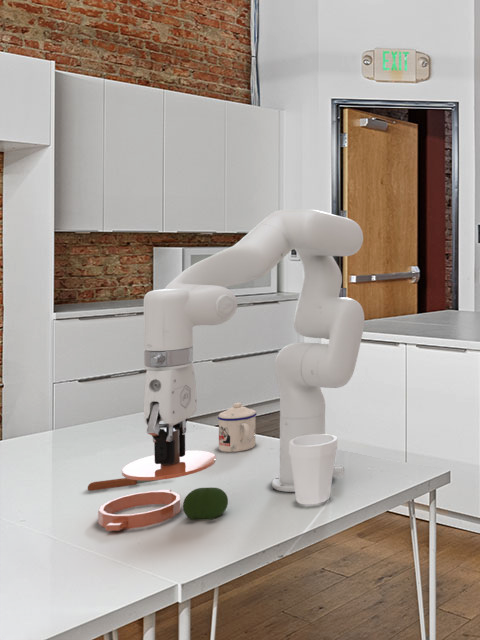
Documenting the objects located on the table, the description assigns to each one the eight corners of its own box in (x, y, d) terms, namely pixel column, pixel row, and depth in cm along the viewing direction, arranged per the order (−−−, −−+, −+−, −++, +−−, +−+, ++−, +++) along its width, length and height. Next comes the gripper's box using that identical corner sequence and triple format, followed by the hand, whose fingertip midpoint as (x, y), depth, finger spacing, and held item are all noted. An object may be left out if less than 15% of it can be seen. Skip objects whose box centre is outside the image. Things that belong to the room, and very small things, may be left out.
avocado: (233, 512, 148) (233, 482, 148) (219, 524, 142) (220, 493, 142) (191, 513, 147) (191, 483, 147) (176, 525, 141) (176, 494, 141)
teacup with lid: (212, 447, 193) (212, 403, 192) (248, 440, 199) (249, 397, 199) (228, 457, 184) (229, 411, 184) (266, 450, 191) (266, 405, 190)
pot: (199, 499, 155) (199, 485, 155) (150, 536, 136) (151, 520, 136) (131, 501, 154) (131, 487, 154) (73, 538, 135) (73, 522, 135)
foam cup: (322, 490, 161) (322, 431, 161) (345, 500, 155) (346, 439, 155) (280, 502, 153) (280, 440, 153) (303, 513, 147) (303, 449, 147)
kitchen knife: (87, 493, 158) (87, 484, 158) (88, 491, 159) (88, 482, 159) (171, 482, 166) (171, 473, 166) (172, 480, 167) (172, 471, 167)
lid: (229, 455, 140) (229, 418, 140) (193, 482, 125) (192, 441, 125) (149, 457, 139) (149, 419, 139) (103, 485, 124) (102, 443, 124)
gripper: (167, 366, 124) (168, 475, 124) (211, 350, 140) (212, 445, 140) (120, 367, 123) (122, 476, 124) (170, 350, 139) (171, 446, 140)
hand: (170, 458), depth 132 cm, fingers closed on lid, 3 cm apart
